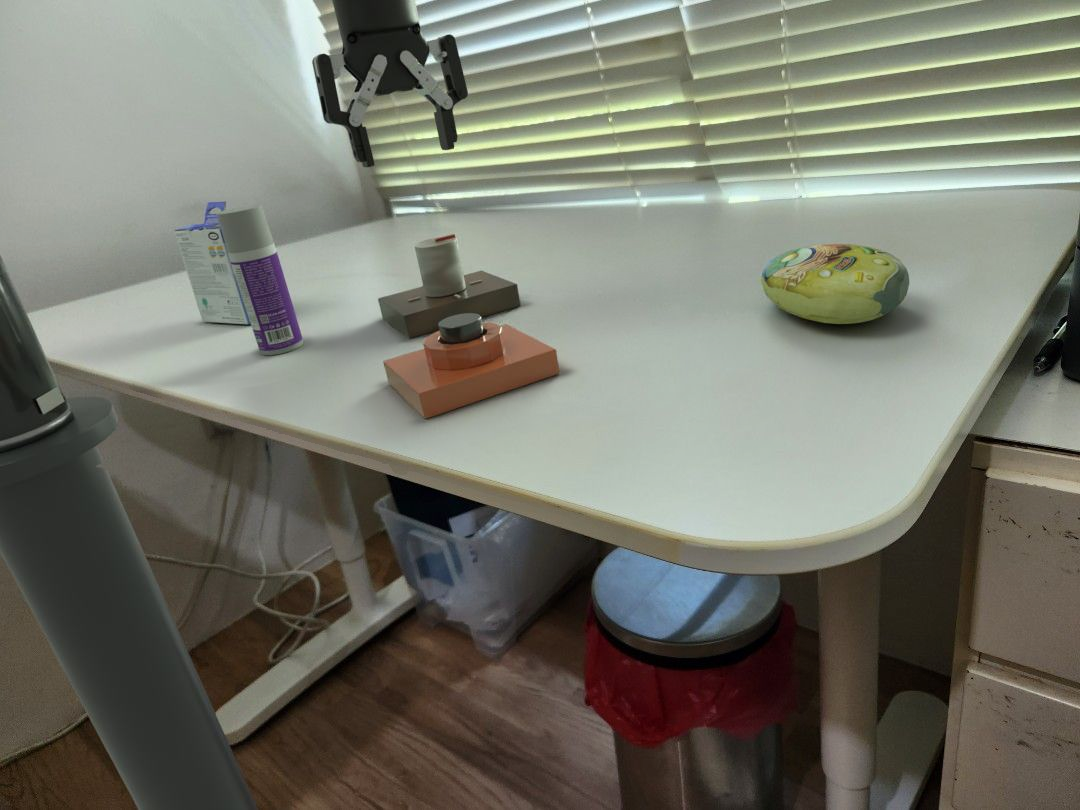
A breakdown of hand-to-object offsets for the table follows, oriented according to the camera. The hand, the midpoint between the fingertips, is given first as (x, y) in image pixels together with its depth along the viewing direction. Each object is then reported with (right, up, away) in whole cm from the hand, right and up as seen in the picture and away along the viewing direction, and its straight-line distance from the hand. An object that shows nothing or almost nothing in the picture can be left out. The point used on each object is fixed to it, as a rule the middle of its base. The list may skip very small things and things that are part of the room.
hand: (409, 157), depth 75 cm
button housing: (+7, -23, -11) cm, 26 cm away
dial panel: (+3, -15, +9) cm, 17 cm away
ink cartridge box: (-25, -14, +22) cm, 36 cm away
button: (+7, -19, -13) cm, 24 cm away
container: (-15, -19, +6) cm, 25 cm away
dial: (+3, -12, +7) cm, 15 cm away
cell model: (+39, -17, -10) cm, 43 cm away
